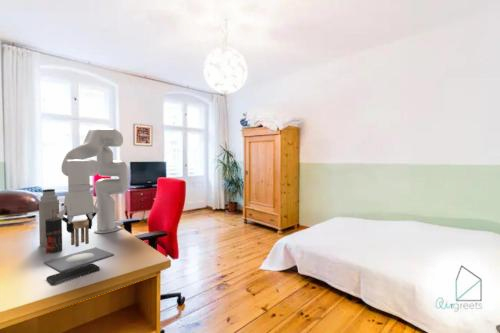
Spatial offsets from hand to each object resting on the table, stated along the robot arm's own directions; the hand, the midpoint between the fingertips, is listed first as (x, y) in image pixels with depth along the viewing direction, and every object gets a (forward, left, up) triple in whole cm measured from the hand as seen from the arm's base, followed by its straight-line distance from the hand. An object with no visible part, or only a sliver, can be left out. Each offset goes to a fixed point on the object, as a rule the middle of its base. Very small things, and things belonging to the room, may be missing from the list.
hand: (79, 229), depth 104 cm
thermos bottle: (-1, -35, -13) cm, 37 cm away
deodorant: (+2, -21, -13) cm, 25 cm away
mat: (0, 0, -13) cm, 13 cm away
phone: (+8, +14, -13) cm, 21 cm away
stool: (0, 0, -6) cm, 6 cm away
